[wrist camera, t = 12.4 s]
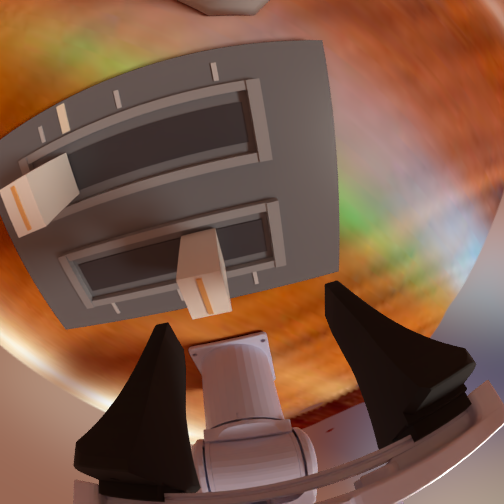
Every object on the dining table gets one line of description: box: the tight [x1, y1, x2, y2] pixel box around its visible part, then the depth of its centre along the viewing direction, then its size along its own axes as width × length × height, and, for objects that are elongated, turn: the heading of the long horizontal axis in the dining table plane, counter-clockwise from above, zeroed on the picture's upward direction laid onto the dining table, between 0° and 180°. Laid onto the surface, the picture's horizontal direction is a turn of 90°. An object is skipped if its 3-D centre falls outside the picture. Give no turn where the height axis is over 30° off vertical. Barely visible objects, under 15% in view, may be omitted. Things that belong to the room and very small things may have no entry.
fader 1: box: [0, 153, 80, 238], centre depth 12 cm, size 3×2×5 cm
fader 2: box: [176, 228, 232, 319], centre depth 17 cm, size 3×2×5 cm
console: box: [0, 40, 339, 329], centre depth 17 cm, size 18×26×2 cm
